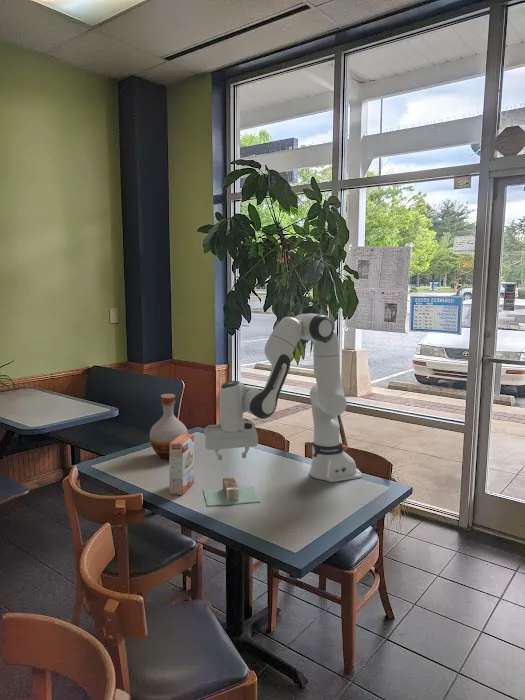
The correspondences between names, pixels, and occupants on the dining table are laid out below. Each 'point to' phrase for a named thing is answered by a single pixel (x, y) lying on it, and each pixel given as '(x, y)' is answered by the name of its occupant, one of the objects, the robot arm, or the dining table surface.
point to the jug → (166, 428)
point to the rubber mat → (220, 499)
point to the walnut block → (230, 489)
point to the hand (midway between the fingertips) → (231, 458)
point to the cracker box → (181, 463)
